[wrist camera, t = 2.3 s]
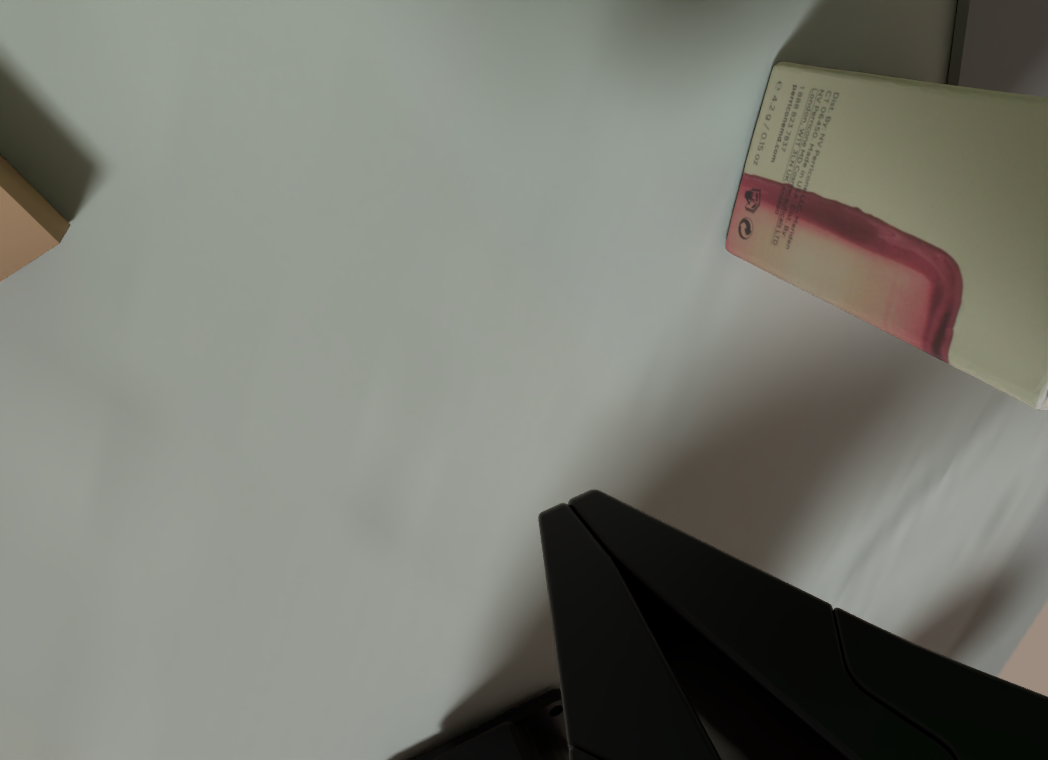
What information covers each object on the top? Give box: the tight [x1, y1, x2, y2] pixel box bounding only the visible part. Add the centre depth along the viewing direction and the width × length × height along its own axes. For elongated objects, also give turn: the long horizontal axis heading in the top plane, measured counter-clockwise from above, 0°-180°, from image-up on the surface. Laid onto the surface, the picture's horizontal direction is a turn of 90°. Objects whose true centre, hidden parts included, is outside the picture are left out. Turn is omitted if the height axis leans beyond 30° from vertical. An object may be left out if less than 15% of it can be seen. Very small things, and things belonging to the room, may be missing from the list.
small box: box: [725, 62, 1048, 410], centre depth 13 cm, size 5×4×8 cm
